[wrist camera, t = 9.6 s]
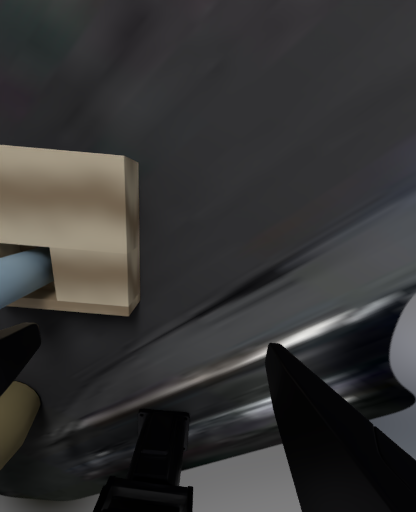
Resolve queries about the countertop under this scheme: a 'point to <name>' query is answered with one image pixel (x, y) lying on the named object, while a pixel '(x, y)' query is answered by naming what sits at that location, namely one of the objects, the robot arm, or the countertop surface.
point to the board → (74, 226)
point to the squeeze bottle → (16, 418)
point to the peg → (24, 274)
